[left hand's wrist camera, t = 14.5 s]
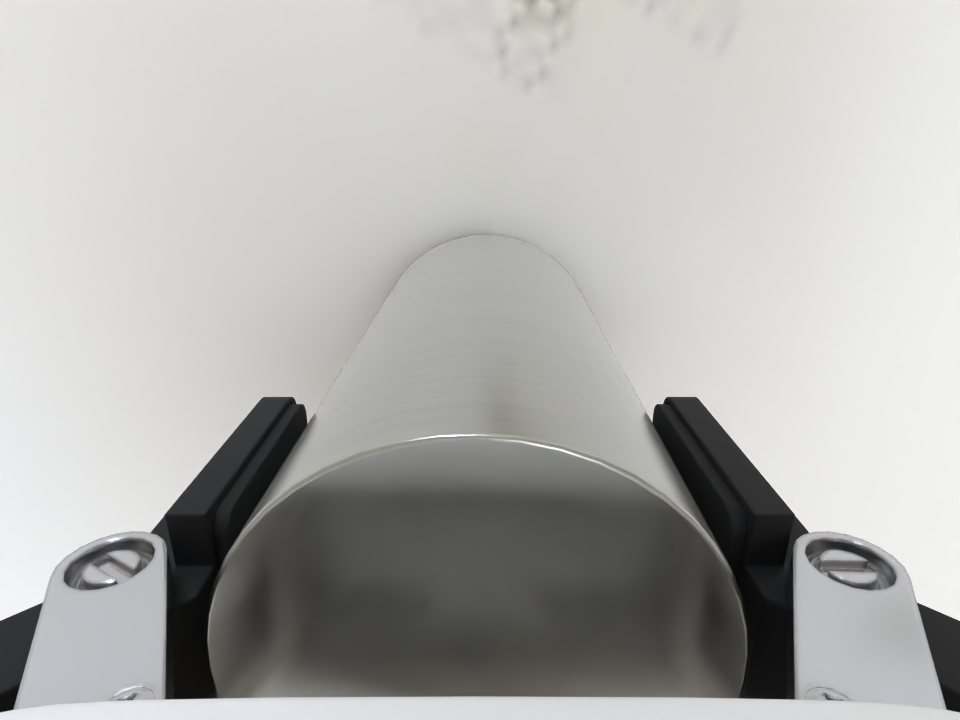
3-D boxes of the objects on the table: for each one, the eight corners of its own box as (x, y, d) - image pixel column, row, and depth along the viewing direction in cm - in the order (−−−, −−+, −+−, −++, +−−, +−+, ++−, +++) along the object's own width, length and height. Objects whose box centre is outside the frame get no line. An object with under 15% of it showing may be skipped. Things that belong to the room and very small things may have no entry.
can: (448, 462, 21) (390, 899, 9) (341, 299, 19) (87, 587, 7) (624, 377, 19) (825, 756, 8) (530, 193, 17) (608, 324, 6)
